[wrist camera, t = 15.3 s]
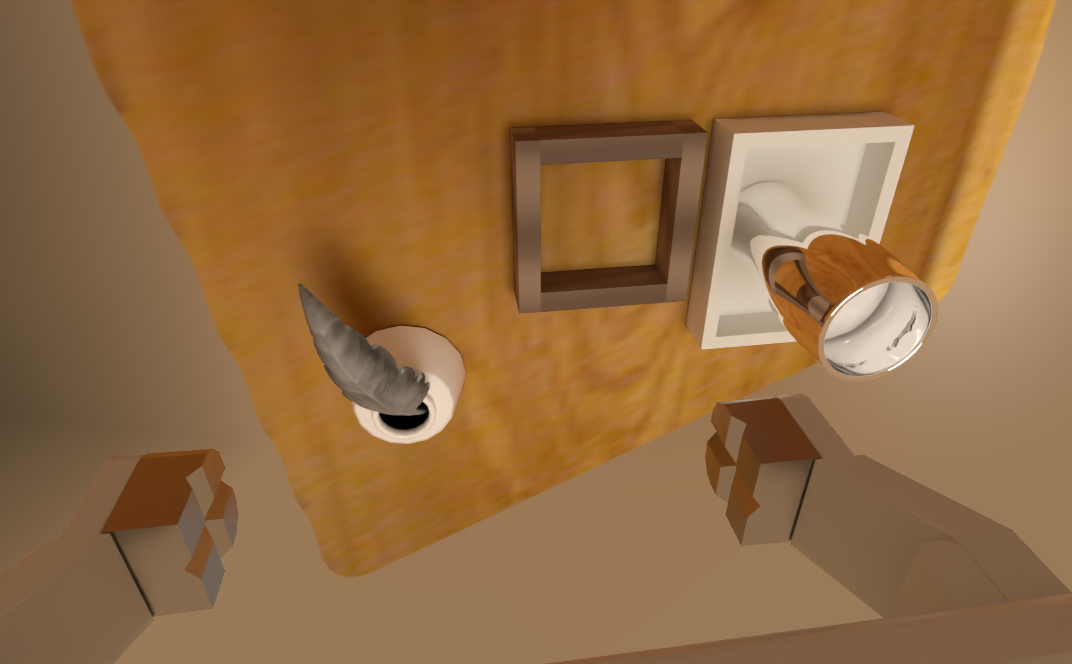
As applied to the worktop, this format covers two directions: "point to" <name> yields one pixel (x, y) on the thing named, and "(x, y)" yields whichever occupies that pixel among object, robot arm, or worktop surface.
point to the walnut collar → (603, 144)
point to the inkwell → (389, 374)
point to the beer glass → (832, 285)
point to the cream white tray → (819, 180)
